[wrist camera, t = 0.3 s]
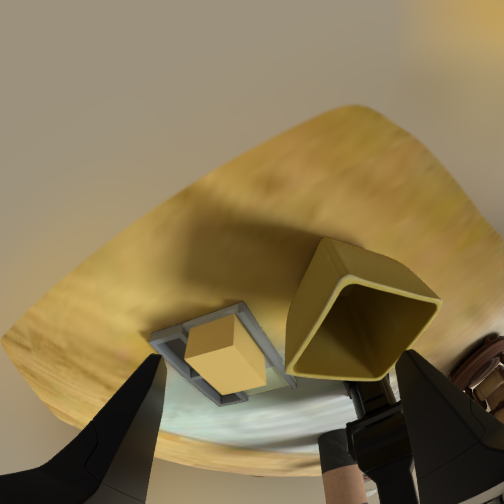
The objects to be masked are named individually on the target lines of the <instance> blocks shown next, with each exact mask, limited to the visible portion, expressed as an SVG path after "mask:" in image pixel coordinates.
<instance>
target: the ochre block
mask: <svg viewBox="0 0 504 504" xmlns="http://www.w3.org/2000/svg"><path fill="white" fill-rule="evenodd" d="M184 360H185V361H186V362H187V363H188V364H190V365H191V366H192V367H193V368H194V369H195V370H196V371H197V372H198V373H199V374H200V375H201V376H202V377H203V378H204V379H205V380H206V381H207V382H208V383H210V384H211V385H212V386H213V387H214V388H215V389H216V390H217V391H218V392H220V393H221V394H222V395H226V394H231V393H235V392H240V391H244V390H248V389H252V388H256V387H260V386H264V385H267V384H266V369H265V355H264V354H263V352H262V351H261V350H260V348H259V347H258V345H257V344H256V343H255V341H254V340H253V338H252V337H251V336H250V334H249V333H248V332H247V330H246V329H245V327H244V326H243V324H242V323H241V322H240V320H239V319H238V317H237V316H236V315H235V313H234V314H231V315H228V316H225V317H222V318H219V319H217V320H214V321H211V322H208V323H205V324H202V325H199V326H196V327H193V328H190V332H189V337H188V342H187V347H186V352H185V357H184Z"/></svg>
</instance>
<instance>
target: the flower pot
mask: <svg viewBox="0 0 504 504" xmlns="http://www.w3.org/2000/svg"><path fill="white" fill-rule="evenodd" d="M442 304H443V301H442V300H441V299H440V298H439V297H438V296H437V295H436V294H435V293H434V292H433V291H432V290H431V289H430V288H429V287H428V286H427V285H426V284H425V283H424V282H423V281H422V280H421V279H420V278H419V277H418V276H416V275H415V274H414V273H413V272H412V271H411V270H410V269H409V268H407V267H406V266H405V265H403V264H402V263H400V262H398V261H396V260H394V259H392V258H390V257H387V256H384V255H381V254H378V253H375V252H372V251H369V250H366V249H363V248H360V247H356V246H353V245H350V244H347V243H344V242H341V241H338V240H335V239H332V238H328V237H325V238H323V239H322V240H321V241H320V243H319V245H318V247H317V249H316V252H315V254H314V256H313V258H312V260H311V262H310V264H309V267H308V269H307V271H306V273H305V275H304V277H303V279H302V281H301V283H300V285H299V287H298V289H297V291H296V293H295V295H294V297H293V300H292V303H291V305H290V308H289V312H288V316H287V322H286V343H285V374H289V375H293V376H299V377H307V378H317V379H330V380H348V381H378V380H381V379H382V378H383V377H384V376H385V375H386V374H387V373H388V372H389V371H390V370H391V369H392V368H393V367H394V366H395V364H396V362H397V360H398V359H399V357H400V356H401V354H402V352H403V351H404V350H409V349H410V348H411V346H412V345H413V344H414V343H415V342H416V340H417V339H418V338H419V337H420V335H421V334H422V333H423V332H424V331H425V329H426V328H427V327H428V326H429V324H430V323H431V322H432V320H433V319H434V318H435V316H436V315H437V313H438V312H439V310H440V308H441V306H442Z"/></svg>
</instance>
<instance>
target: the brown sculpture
mask: <svg viewBox="0 0 504 504" xmlns="http://www.w3.org/2000/svg"><path fill="white" fill-rule="evenodd" d="M484 341H485V345H484V346H482V347H481V348H480V349H479V350H478V351H476V352H475V353H474V354H473V355H472V356H471V357H470V358H469V359H468V360H467V361H466V362H465V363H464V364H463V365H462V366H461V367H460V368H459V369H458V370H457V372H456V373H455V374H453V373H450V379H451V381H452V382H453V383H454V384H455V385H456V386H457V387H459V388H460V389H461V390H462V391H465V394H467V395H468V396H469V397H470V398H471V399H472V400H474V401H475V402H476V403H477V404H478V405H479V406H481V407H482V408H483V409H484V410H486V409H487V403H488V405H489V407H490V409H491V411H490V412H488V413H490V414H491V415H492V416H494V417H495V418H496V419H498V420H499V421H501V422H502V423H503V424H504V367H503V366H502V365H498V364H499V363H500V362H501V363H502V364H504V336H499V337H496V338H494V339H493V340H490V339H489V338H487V337H486V338H485V339H484ZM497 365H498V366H497ZM496 366H497V367H496ZM484 378H485V379H484ZM483 379H484V380H483ZM482 380H483V381H482ZM481 381H482V382H481ZM479 382H481V383H480V384H479V385H477V386H476V387H475V388H474V389H473V392H472V389H471V387H473V386H475V385H476V384H478V383H479ZM485 399H486V401H487V403H486V401H485Z"/></svg>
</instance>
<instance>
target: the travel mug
mask: <svg viewBox="0 0 504 504" xmlns="http://www.w3.org/2000/svg"><path fill="white" fill-rule="evenodd" d="M318 444H319V453H320V461H321V470H322V477H323V484H324V490H325V497H326V504H368V503H367V496H366V490H365V485H364V480H363V475H362V471H361V470H360V469H359V468H358V464H357V463H355V462H354V461H353V459H352V457H351V456H349V455H348V454H347V435H346V430H345V429H338V430H334V431H330V432H327V433H325V434H323V435H321V436H320V437H319V438H318Z"/></svg>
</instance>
